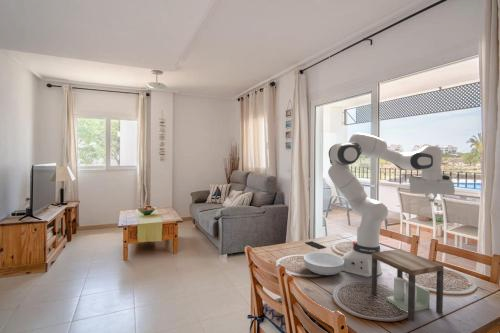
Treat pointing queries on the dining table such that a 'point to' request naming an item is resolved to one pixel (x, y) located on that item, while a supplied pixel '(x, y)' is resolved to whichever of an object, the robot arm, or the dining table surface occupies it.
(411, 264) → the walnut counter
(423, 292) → the glasses tray
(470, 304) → the dining table surface
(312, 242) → the smartphone
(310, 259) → the serving bowl
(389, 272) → the dining table surface
